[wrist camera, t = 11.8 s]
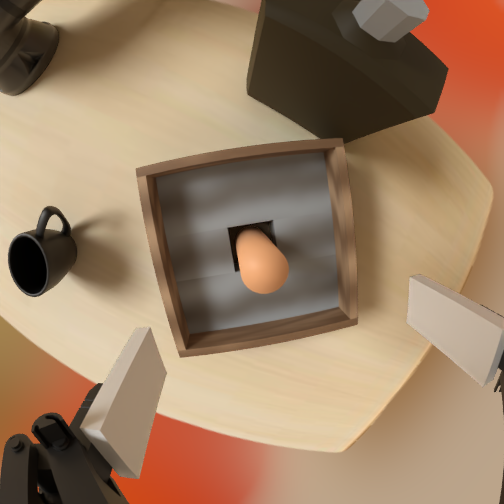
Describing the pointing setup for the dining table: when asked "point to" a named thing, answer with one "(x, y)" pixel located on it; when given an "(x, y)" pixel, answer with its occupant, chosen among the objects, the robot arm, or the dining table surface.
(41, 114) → the dining table surface
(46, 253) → the mug
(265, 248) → the peg
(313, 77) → the bottle
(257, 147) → the crate
